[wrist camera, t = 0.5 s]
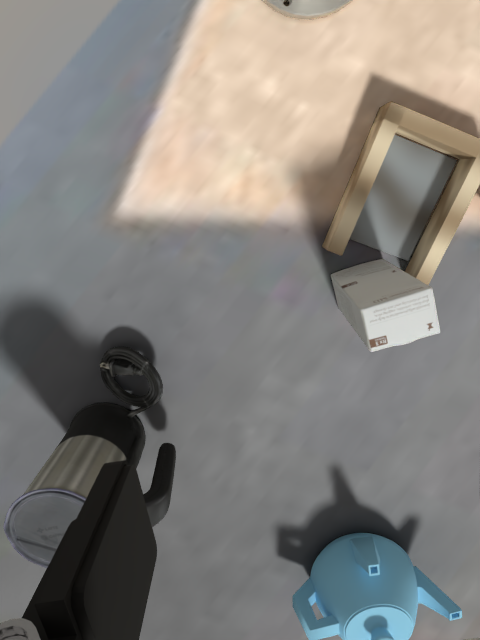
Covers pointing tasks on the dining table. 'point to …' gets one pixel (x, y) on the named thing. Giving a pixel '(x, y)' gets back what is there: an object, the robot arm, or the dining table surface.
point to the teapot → (366, 591)
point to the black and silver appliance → (91, 462)
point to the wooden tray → (407, 189)
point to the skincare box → (385, 304)
